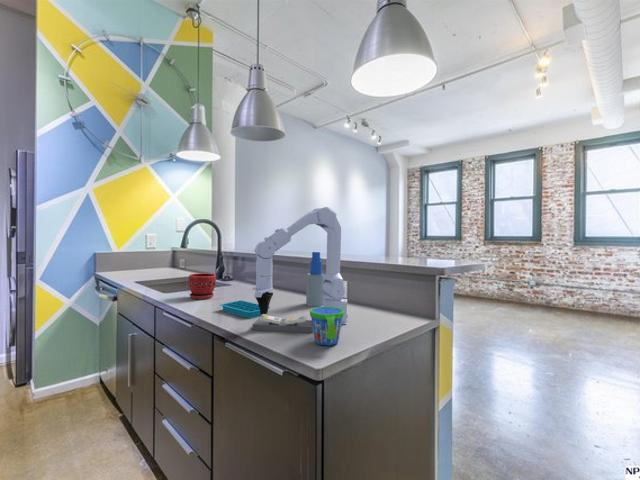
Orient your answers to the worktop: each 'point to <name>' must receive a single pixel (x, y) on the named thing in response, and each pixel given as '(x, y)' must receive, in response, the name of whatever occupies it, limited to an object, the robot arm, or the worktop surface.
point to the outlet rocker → (270, 319)
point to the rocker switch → (295, 320)
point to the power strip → (283, 326)
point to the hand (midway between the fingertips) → (263, 313)
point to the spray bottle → (315, 282)
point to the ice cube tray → (242, 308)
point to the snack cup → (326, 324)
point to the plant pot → (202, 285)
